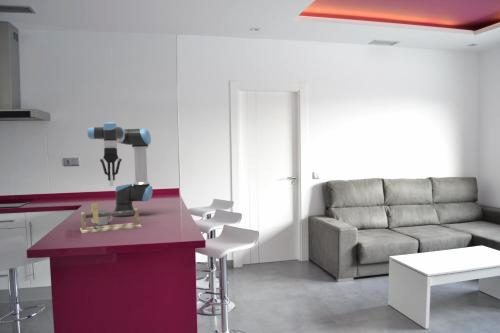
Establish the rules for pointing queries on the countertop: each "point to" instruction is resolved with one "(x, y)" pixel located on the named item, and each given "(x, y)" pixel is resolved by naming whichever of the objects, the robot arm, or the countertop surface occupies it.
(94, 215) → the collar
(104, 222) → the cup
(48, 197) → the countertop surface
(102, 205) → the countertop surface
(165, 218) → the countertop surface
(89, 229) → the rail
